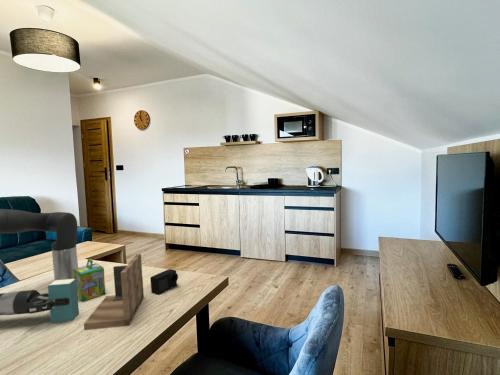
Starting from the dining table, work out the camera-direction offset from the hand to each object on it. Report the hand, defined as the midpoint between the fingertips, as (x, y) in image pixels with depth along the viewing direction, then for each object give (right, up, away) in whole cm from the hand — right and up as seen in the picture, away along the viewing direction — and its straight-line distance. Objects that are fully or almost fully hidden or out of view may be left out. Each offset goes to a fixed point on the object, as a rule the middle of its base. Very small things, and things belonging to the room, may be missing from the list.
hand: (72, 298), depth 100 cm
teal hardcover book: (-2, -7, 0) cm, 7 cm away
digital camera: (+27, -5, +21) cm, 34 cm away
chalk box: (-4, -6, +18) cm, 19 cm away
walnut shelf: (+14, -6, +3) cm, 16 cm away
